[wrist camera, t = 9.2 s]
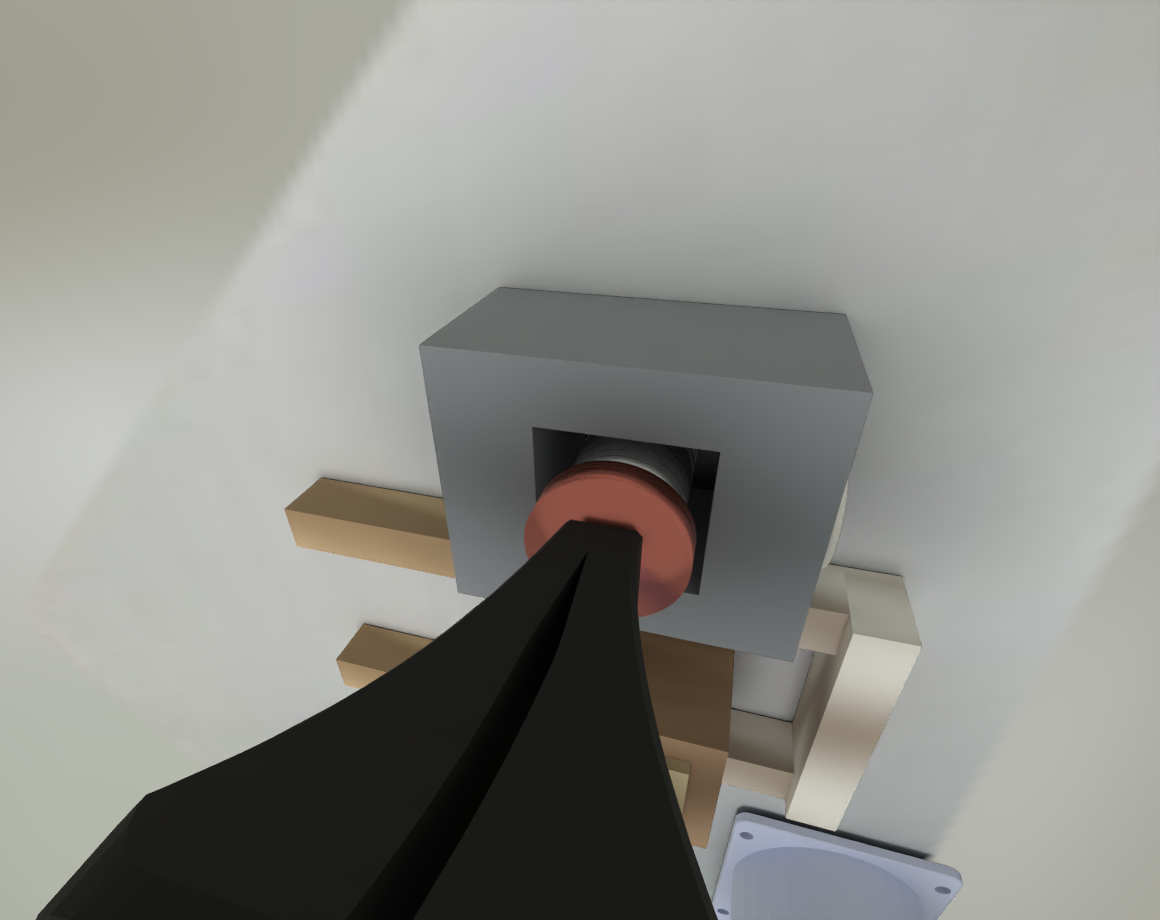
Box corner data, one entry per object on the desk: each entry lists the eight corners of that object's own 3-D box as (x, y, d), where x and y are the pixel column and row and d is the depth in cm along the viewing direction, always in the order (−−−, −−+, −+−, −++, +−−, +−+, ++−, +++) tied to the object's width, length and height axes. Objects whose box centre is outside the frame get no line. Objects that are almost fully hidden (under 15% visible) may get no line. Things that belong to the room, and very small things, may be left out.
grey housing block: (795, 547, 16) (803, 664, 13) (515, 500, 18) (457, 592, 14) (855, 315, 12) (886, 394, 9) (498, 287, 14) (418, 345, 11)
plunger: (705, 493, 15) (683, 632, 11) (587, 476, 16) (527, 600, 12) (720, 382, 13) (701, 499, 10) (587, 367, 14) (519, 471, 10)
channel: (828, 759, 20) (835, 831, 18) (370, 648, 24) (335, 698, 22) (902, 576, 15) (922, 646, 14) (320, 477, 20) (270, 520, 18)
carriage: (718, 695, 20) (705, 860, 16) (605, 669, 21) (563, 819, 17) (737, 599, 18) (727, 764, 13) (608, 575, 18) (559, 722, 14)
